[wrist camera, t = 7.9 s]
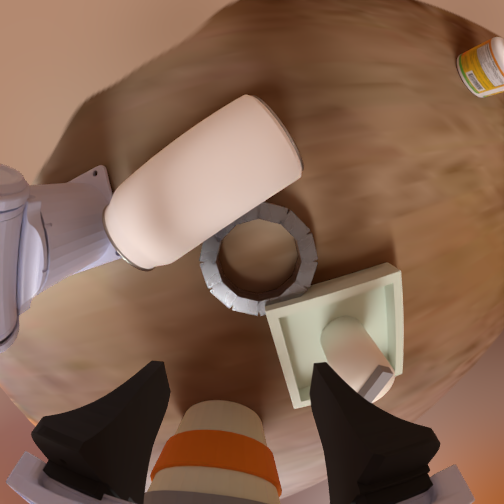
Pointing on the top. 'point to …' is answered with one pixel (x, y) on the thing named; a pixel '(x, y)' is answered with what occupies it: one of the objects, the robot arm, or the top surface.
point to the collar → (257, 302)
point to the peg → (357, 358)
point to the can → (201, 183)
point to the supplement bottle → (483, 68)
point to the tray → (329, 308)
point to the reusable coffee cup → (216, 459)
